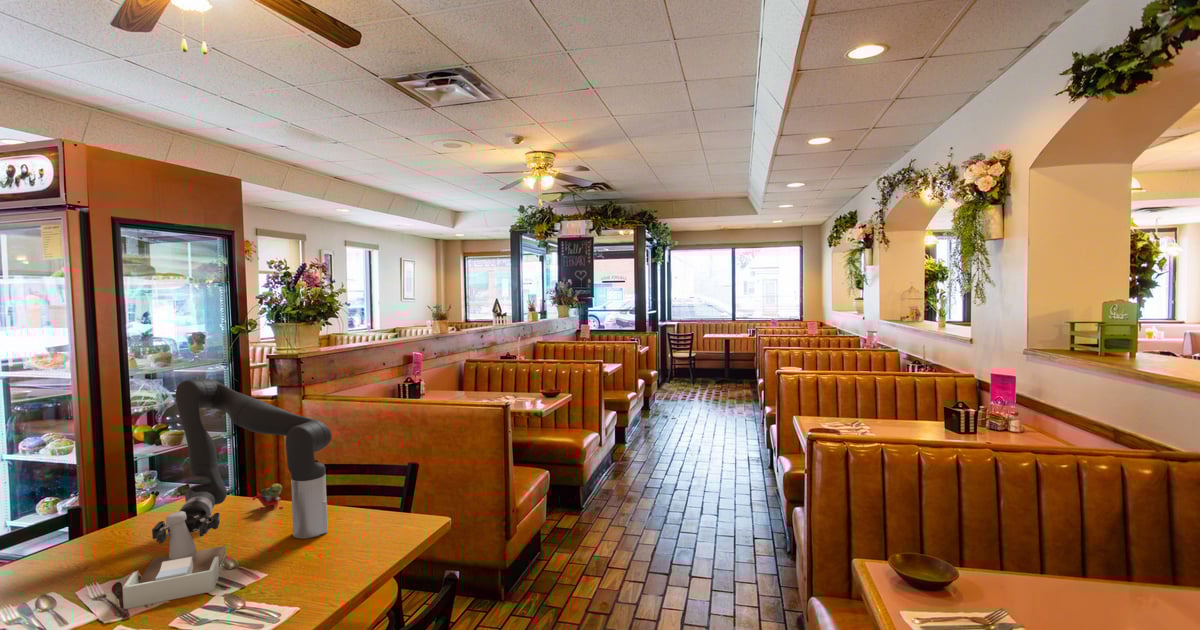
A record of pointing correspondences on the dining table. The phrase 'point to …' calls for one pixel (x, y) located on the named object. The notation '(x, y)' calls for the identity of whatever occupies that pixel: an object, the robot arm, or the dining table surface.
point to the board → (200, 560)
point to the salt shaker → (180, 537)
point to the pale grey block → (173, 573)
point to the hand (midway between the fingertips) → (181, 536)
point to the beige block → (177, 564)
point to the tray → (169, 587)
